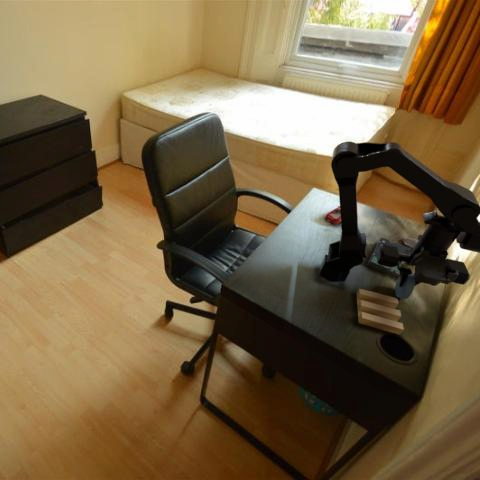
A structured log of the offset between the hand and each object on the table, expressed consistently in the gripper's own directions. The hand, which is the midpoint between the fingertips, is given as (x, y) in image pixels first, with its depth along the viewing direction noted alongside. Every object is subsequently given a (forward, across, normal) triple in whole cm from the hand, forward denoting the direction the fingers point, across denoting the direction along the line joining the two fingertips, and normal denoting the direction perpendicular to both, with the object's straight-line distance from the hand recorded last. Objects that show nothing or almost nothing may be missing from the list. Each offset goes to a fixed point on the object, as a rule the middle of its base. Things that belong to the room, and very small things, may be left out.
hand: (403, 286), depth 87 cm
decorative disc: (+4, +8, +27) cm, 28 cm away
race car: (+4, -14, +34) cm, 37 cm away
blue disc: (+3, 0, 0) cm, 3 cm away
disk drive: (+4, 0, +15) cm, 16 cm away
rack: (+4, -6, -9) cm, 12 cm away
